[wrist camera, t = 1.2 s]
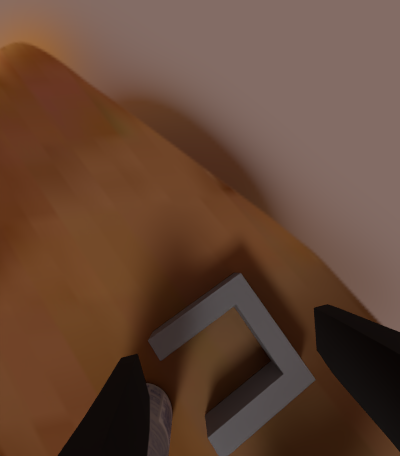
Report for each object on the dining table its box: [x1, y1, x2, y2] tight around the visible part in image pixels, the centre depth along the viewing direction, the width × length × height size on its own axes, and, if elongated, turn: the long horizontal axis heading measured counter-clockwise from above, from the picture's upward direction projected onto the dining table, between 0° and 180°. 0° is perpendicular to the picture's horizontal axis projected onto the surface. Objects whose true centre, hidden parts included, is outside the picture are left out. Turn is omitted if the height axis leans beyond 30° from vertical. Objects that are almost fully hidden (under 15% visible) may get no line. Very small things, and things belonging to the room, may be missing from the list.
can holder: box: [148, 273, 315, 456], centre depth 21 cm, size 10×11×3 cm
